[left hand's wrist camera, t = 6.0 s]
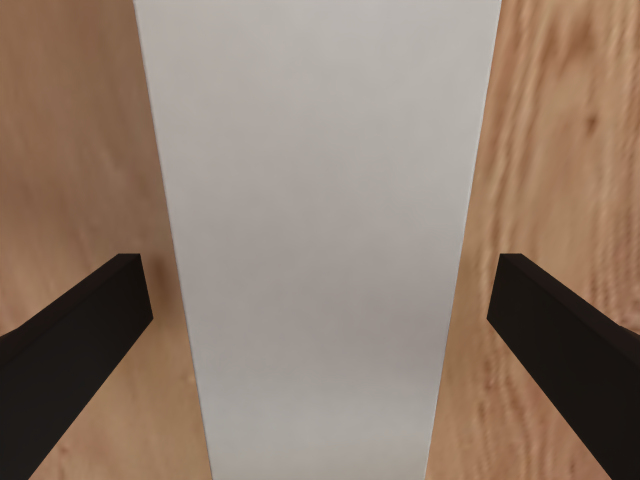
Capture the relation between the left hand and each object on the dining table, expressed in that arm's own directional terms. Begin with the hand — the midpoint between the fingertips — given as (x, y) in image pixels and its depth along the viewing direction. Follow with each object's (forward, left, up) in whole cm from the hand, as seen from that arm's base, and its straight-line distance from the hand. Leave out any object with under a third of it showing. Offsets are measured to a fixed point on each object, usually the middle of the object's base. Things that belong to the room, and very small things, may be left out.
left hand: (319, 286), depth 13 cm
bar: (+7, +23, -3) cm, 24 cm away
